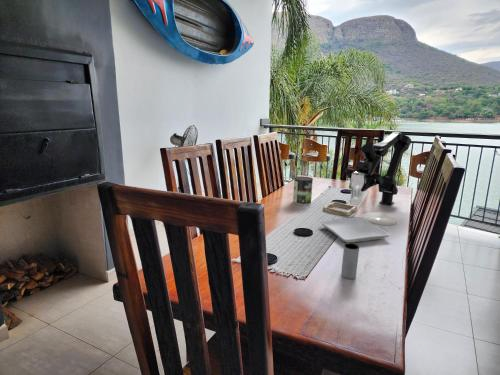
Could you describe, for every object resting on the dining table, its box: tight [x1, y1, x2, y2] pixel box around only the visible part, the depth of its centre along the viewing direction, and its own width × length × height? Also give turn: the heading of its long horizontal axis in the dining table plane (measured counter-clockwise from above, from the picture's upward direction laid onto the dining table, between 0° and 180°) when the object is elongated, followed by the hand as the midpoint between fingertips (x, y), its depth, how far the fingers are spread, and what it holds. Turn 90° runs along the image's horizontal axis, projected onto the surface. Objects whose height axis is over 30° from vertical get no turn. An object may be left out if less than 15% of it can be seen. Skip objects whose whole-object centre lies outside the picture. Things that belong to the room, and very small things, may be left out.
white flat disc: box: [361, 212, 398, 226], centre depth 152 cm, size 16×16×1 cm
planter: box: [340, 242, 360, 280], centre depth 99 cm, size 4×4×10 cm
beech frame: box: [322, 201, 358, 217], centre depth 164 cm, size 13×13×2 cm
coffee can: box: [292, 176, 314, 206], centre depth 175 cm, size 10×10×14 cm
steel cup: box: [349, 171, 367, 206], centre depth 155 cm, size 7×7×15 cm
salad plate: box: [320, 216, 391, 243], centre depth 134 cm, size 21×21×3 cm
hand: (355, 189), depth 154 cm, fingers closed on steel cup, 7 cm apart
